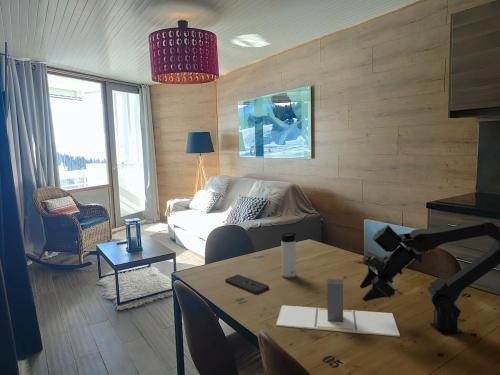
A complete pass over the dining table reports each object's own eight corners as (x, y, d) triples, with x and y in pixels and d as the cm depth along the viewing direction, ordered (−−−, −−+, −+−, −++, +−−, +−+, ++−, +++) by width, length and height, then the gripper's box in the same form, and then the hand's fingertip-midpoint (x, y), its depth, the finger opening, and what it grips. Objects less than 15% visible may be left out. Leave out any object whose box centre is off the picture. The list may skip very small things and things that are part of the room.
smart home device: (255, 291, 139) (224, 279, 154) (255, 295, 139) (224, 282, 154) (269, 285, 145) (238, 274, 159) (270, 289, 145) (238, 277, 160)
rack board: (392, 314, 119) (392, 313, 119) (399, 336, 106) (399, 334, 106) (282, 306, 128) (282, 305, 128) (276, 325, 115) (276, 324, 115)
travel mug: (296, 279, 154) (295, 235, 151) (281, 278, 155) (280, 234, 153) (297, 274, 160) (296, 231, 158) (283, 273, 161) (281, 231, 159)
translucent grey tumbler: (342, 316, 118) (342, 279, 117) (343, 322, 114) (342, 284, 113) (327, 315, 119) (327, 278, 118) (327, 321, 116) (327, 283, 114)
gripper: (373, 235, 120) (342, 266, 124) (381, 254, 102) (344, 289, 106) (398, 257, 119) (366, 287, 123) (411, 280, 101) (372, 314, 105)
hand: (362, 293), depth 114 cm, fingers open, 9 cm apart
